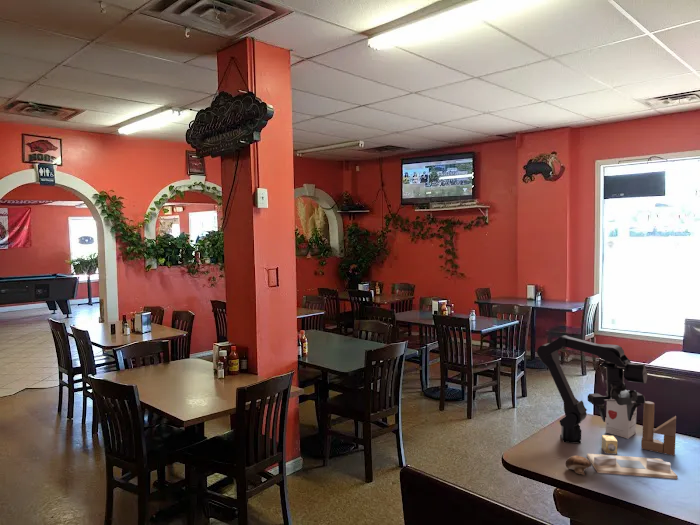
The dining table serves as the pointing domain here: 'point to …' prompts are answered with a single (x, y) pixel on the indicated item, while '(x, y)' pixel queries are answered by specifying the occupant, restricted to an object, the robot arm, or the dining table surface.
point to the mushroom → (578, 464)
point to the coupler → (609, 444)
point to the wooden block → (665, 429)
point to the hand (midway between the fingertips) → (616, 421)
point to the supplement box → (619, 420)
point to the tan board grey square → (631, 466)
